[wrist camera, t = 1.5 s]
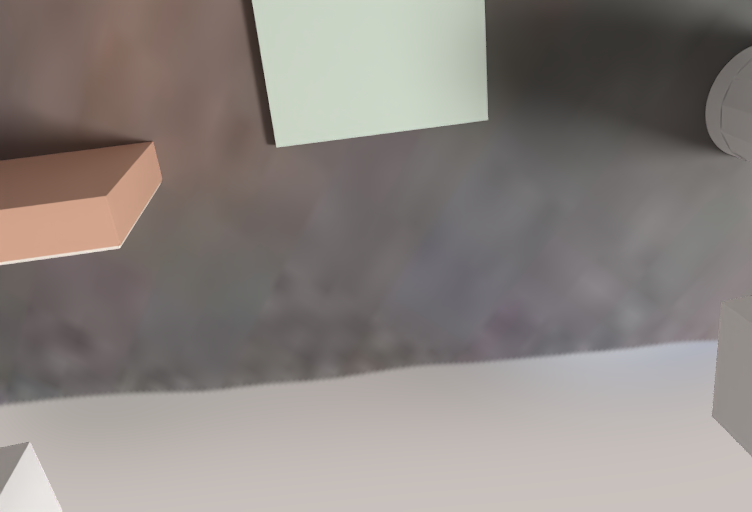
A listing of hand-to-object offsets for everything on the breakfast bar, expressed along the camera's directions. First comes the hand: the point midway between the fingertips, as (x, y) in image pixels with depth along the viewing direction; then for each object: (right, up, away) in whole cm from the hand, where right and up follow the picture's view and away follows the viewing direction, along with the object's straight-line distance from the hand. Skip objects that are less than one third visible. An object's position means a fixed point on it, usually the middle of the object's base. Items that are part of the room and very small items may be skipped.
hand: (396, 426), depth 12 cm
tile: (-16, +7, +20) cm, 26 cm away
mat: (-1, +16, +18) cm, 24 cm away
